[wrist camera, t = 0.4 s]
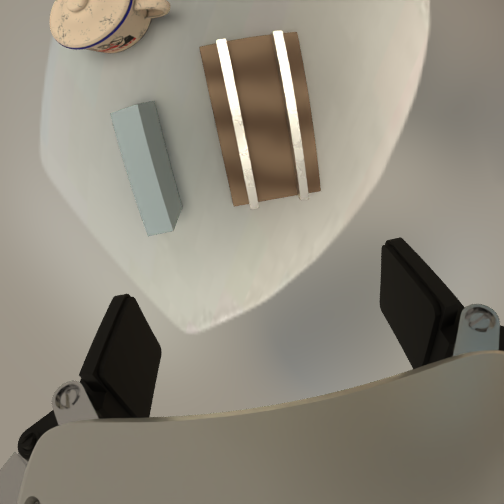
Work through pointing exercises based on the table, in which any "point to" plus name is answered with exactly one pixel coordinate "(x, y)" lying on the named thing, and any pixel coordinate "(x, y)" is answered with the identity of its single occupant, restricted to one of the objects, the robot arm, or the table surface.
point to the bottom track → (262, 117)
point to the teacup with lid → (103, 22)
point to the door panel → (148, 166)
